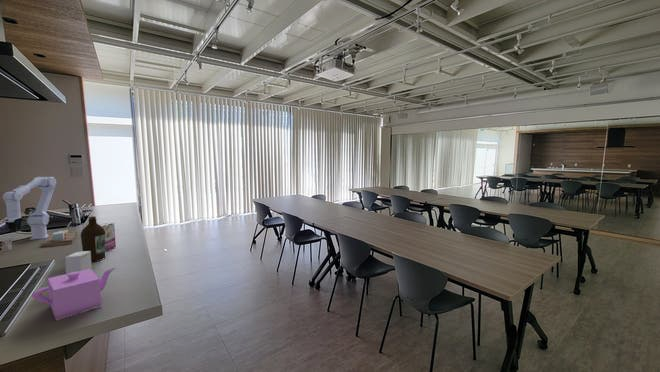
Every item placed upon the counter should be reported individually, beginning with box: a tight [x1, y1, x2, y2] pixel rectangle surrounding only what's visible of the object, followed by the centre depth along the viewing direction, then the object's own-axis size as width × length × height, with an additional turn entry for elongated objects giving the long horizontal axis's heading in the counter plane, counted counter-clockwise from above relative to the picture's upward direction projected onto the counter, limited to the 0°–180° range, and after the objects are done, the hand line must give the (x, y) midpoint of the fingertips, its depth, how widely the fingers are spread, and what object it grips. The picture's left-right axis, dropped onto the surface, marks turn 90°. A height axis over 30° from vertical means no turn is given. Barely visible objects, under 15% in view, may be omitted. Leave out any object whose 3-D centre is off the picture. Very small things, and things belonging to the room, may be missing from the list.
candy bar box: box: [99, 222, 117, 251], centre depth 171 cm, size 11×5×16 cm, turn 179°
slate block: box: [51, 231, 65, 241], centre depth 183 cm, size 5×5×6 cm
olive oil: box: [80, 215, 107, 263], centre depth 155 cm, size 11×11×25 cm
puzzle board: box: [41, 229, 78, 248], centre depth 188 cm, size 24×14×4 cm, turn 37°
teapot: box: [31, 267, 117, 320], centre depth 108 cm, size 15×25×14 cm, turn 141°
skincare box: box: [64, 250, 93, 274], centre depth 126 cm, size 8×6×15 cm
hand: (15, 230), depth 176 cm, fingers open, 7 cm apart
